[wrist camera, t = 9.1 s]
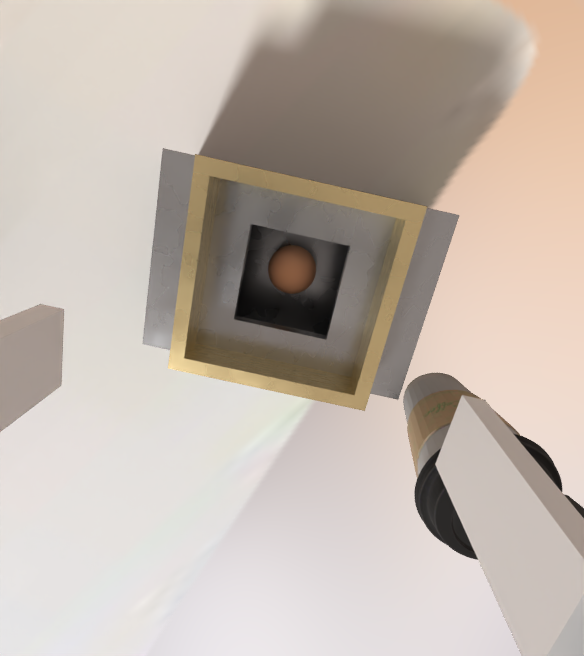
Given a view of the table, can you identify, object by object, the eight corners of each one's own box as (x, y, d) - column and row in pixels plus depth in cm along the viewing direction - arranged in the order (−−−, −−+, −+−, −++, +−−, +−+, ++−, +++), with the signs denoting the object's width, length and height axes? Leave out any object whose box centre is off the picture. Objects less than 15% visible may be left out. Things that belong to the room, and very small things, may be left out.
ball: (268, 282, 37) (259, 291, 33) (277, 238, 35) (269, 242, 32) (311, 293, 36) (308, 303, 33) (322, 248, 35) (319, 254, 31)
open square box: (176, 314, 39) (125, 359, 28) (196, 158, 34) (144, 142, 24) (381, 359, 39) (406, 419, 29) (427, 210, 35) (476, 217, 24)
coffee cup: (456, 338, 38) (541, 424, 24) (498, 415, 40) (598, 536, 26) (366, 384, 40) (395, 490, 26) (411, 456, 42) (460, 589, 28)
